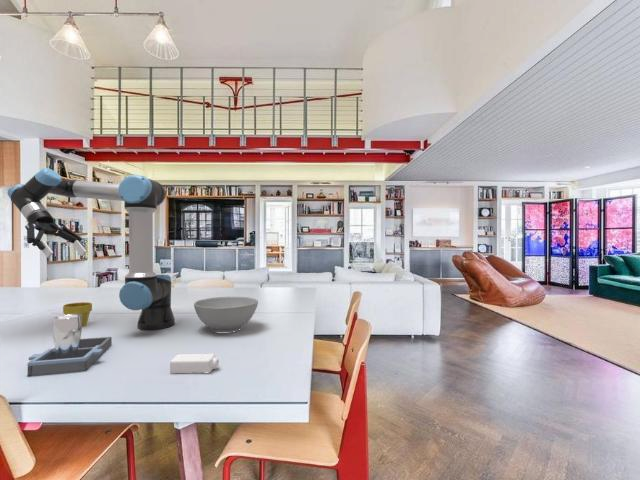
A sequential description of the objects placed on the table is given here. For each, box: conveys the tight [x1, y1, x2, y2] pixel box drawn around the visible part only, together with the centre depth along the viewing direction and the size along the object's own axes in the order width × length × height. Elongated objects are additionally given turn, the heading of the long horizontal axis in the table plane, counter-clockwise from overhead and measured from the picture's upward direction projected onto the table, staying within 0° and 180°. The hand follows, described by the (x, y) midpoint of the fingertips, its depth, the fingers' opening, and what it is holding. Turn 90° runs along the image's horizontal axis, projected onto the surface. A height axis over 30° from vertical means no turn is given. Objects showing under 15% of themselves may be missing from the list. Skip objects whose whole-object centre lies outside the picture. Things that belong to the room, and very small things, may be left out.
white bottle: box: [169, 353, 220, 374], centre depth 98 cm, size 6×13×4 cm, turn 92°
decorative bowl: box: [193, 296, 259, 333], centre depth 143 cm, size 27×27×12 cm
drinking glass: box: [52, 314, 83, 359], centre depth 100 cm, size 7×7×15 cm
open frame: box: [26, 336, 113, 377], centre depth 106 cm, size 18×25×4 cm
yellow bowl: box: [62, 301, 93, 328], centre depth 145 cm, size 10×10×10 cm
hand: (68, 254), depth 128 cm, fingers open, 13 cm apart
